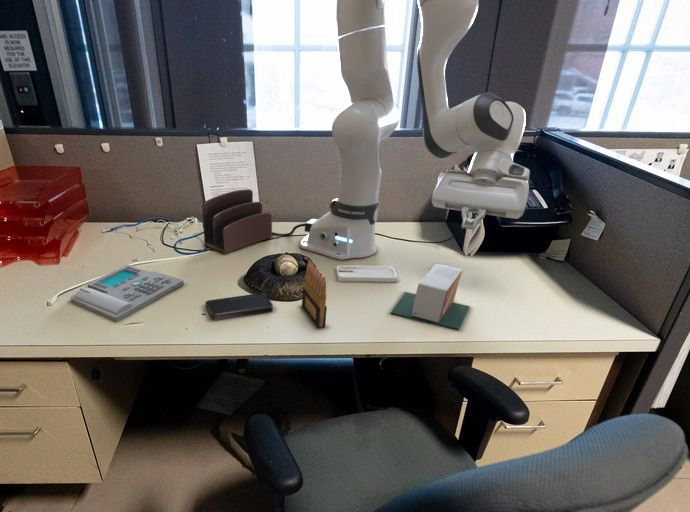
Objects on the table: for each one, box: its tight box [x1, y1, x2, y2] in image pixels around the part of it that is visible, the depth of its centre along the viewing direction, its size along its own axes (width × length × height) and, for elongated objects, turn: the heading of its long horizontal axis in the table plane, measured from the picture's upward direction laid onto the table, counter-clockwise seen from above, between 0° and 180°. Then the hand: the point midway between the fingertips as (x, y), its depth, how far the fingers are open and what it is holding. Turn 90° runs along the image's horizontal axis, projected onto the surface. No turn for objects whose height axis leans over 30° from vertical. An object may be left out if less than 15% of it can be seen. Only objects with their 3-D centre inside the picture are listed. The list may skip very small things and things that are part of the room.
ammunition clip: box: [301, 259, 328, 329], centre depth 105 cm, size 11×2×12 cm, turn 13°
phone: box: [205, 292, 274, 321], centre depth 112 cm, size 8×1×15 cm
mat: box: [390, 291, 470, 331], centre depth 110 cm, size 15×12×1 cm
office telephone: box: [70, 264, 185, 323], centre depth 119 cm, size 23×3×20 cm
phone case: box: [335, 265, 398, 283], centre depth 125 cm, size 7×1×15 cm
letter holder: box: [201, 188, 273, 255], centre depth 143 cm, size 10×20×14 cm, turn 132°
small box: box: [411, 263, 463, 323], centre depth 108 cm, size 8×6×13 cm
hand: (467, 227), depth 109 cm, fingers closed
